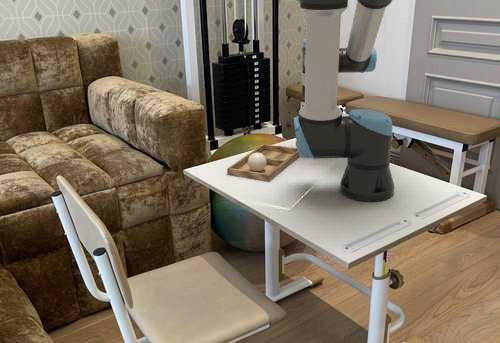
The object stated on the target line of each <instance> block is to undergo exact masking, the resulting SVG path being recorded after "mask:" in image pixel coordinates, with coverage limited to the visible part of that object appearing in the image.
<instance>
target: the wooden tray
mask: <svg viewBox="0 0 500 343" xmlns="http://www.w3.org/2000/svg"><path fill="white" fill-rule="evenodd" d="M253 153H261V154H263V155H264V156H265V157H266V160H267V164H266V167H265V168H264V169H263V170H261V171H253V170H251V169H250V167H249V166H248V158H249V157H250V155H251V154H253ZM298 158H301V157H300V156H299V154H298V149H297V147H296V148H295V147H290V146H283V145H282V146H281V145H275V144H267V143H263V144H261V145H260V146H258V147H257V148H256V149H254V150H252V151H251V152H249V153H247V154H246V155H245V156H243V157H242V158H240V159H239V160H238V161H236V162H234V163H233V164H231V165H229V166H228V167H227V168H226V171H227V173H226V174H227V176H233V177H239V178H243V179H245V178H246V179H251V180H255V181H261V182H262V181H263V182H269V183H270V182H271V181H273V179H275V177H278V175H280V174H281V173H283V171H284V170H285V169H287V168H288V167H289V166H290V165H291V164H292V163H293V162H295V161H296V160H298Z"/></svg>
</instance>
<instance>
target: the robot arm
mask: <svg viewBox="0 0 500 343" xmlns="http://www.w3.org/2000/svg"><path fill="white" fill-rule="evenodd" d="M295 1H297V2H299V3H300V5H299V9H300V10H301V11H302V12H303V14H305V38H304V39H303V40H302V47H301V54H302V56H301V57H302V59H301V60H302V64H301V65H302V66H301V67H302V71H301V72H302V73H301V75H300V77H301V78H302V79H301V80H302V83H301V84H302V87H301V96H302V97H303V98H304V104H303V105H301V106H302V107H301V108H300V109H299V111H298V114H299V115H298V116H296V117H294V118H293V124H294V132H295V143H296V142H297V147H296V148H297V149H298V154H299V156H300V157H299V158H301V159H313V160H318V159H319V160H320V159H347V160H346V161H347V162H346V164H347V165H346V167H345V170H344V172H343V174H342V177H341V179H340V184H339V191H340V193H341V194H342V195H343V196H345V197H347V198H349V199H351V200H354V201H359V202H369V203H370V202H374V203H375V202H380V201H381V202H382V201H385V200H388V199H391V197H393V195H394V193H395V183H394V179H393V176H392V172H391V168H390V161H391V151H392V150H391V148H392V138H393V134H394V133H393V119H392V118H391V117H390V116H389V115H387V114H385V113H383V112H380V111H378V110H372V109H365V108H364V109H363V108H356V109H351V110H350V111H349V113H348V115H343V110H342V109H341V108H340V107H339V106H338V88H339V86H338V85H339V84H338V83H339V74H341V73H344V74H345V73H346V74H347V73H348V74H349V73H353V74H354V73H362V74H363V73H369V72H370V73H371V72H373V71H374V70H375V69H376V66H377V56H378V55H377V49H375V47H374V46H375V43H376V39H377V37H378V34H379V30H380V27H381V24H382V22H383V18H384V14H385V12H386V10H387V7H388V6H390V5H391V4H392V2H393V0H356V1H357V2H356V7H355V9H354V13H353V14H354V15H353V19H352V22H351V27H350V33H349V36H348V37H349V38H348V41H347V47H343V48H342V47H340V42H341V40H340V39H341V18H342V14H343V13H344V12H345V10H347V9H348V7H349V6H348V5H349V0H295Z"/></svg>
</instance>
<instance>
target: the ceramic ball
mask: <svg viewBox="0 0 500 343" xmlns="http://www.w3.org/2000/svg"><path fill="white" fill-rule="evenodd" d="M266 164H267V160H266V157H265V156H264V155H263V154H261V153H253V154H251V155H250V157H249V158H248V166H249V167H250V169H251V170H253V171H261V170H263V169H264V168H265V167H266Z"/></svg>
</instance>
